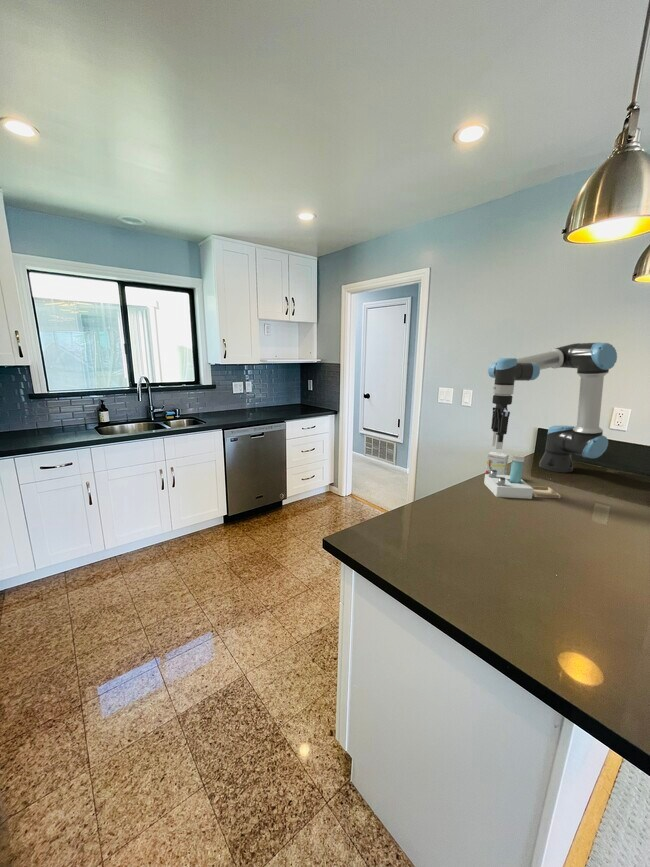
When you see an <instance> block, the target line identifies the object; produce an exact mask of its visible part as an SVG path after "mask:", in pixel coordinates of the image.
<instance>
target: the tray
mask: <svg viewBox="0 0 650 867" xmlns="http://www.w3.org/2000/svg"><path fill="white" fill-rule="evenodd" d="M530 486H531V487H532V488H533V494H532V497H534V498H542V499H543V498H545V499H547V498H548V499H561V494H559V493H558V492H557V491H555V490H554V489H552V488H551V487H549V486H542V485H541V486H539V485H538V486H537V485H536V486H535V485H530Z"/></svg>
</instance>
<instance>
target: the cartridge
mask: <svg viewBox="0 0 650 867" xmlns="http://www.w3.org/2000/svg"><path fill="white" fill-rule="evenodd" d="M525 459H526V458H525V456H524V455H512V457H511V465H510V473H509V475H510V480H509V482H510V483H517V484H521V479H522V477H523V469H524V462H525Z"/></svg>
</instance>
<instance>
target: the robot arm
mask: <svg viewBox="0 0 650 867" xmlns="http://www.w3.org/2000/svg"><path fill="white" fill-rule="evenodd" d="M617 352H618V351H617V350H616V348H615V347H614V345H613V344H611V343H609V342H587V343H580V342H579V343H571V344H568V345H567V344H566V345H563V346H559V347H556V348H551V349H550V350H547V352H542V353H539V354H538V353H537V354H534V355H533V354H532V355H529V356H525V357H521V358H519V357H518V358H516V357H513V358H512V357H501V358H498V359H497V360H496V361H495V362H492V363H490V364H489V366H488V368H487V373H488V376H489V377H490V378H493V379H494V385H493V387H492V389H493V395H492V404H494V405H495V407H492V418H491V427H490V429H491V430H492V437H491V447H494V449H495V450H502V449H503V444H504V437H505V435H507V432H508V425H509V417H510V414H511V412H510V411H508V405H509V406H510V405H512V404H513V394H514V390H515V389H514V388H515V382H516V381H525V382H528V381H534V380H536V379H538V378H539V376H540V374H541V373H540V372H541V370H542V371H543V370H546V369H550V368H551V369H559V368H567V369H568V368H569V369H576V370H577V371H576V374H577V375H579V377H580V380H579V383H580V384H579V394H578V395H579V396H578V407H577V408H578V409H577V419H576V420H577V422H576V426H575V425H551V426H549V427H548V430H547V434H546V441H545V449H544V450H545V451H544V453H543V455H542V457H541V458H540V461H539V463H538V467H539V468H541V469H543V470H546V471H550V472H555V473H563V474H564V473H565V474H566V473H572V472H573V471H574V464H573V460H572V454H574V455H577V456H581V457H582V458H587V459H598V458H599V457H601V456H602V455H604V453H605V452H606V450H607V448H608V446H609V439H608V437H607V436H605V435H603V434H604V433H603V432H604V430H603V429H602V428H601V427H600V421H601V412H602V411H601V410H602V401H603V390H604V389H603V388H604V381H605V380H604V379H605V376H606V375H607V374H609V370H610V369H612V368H614V366H615V364H616V363H617V359H618V353H617Z"/></svg>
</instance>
